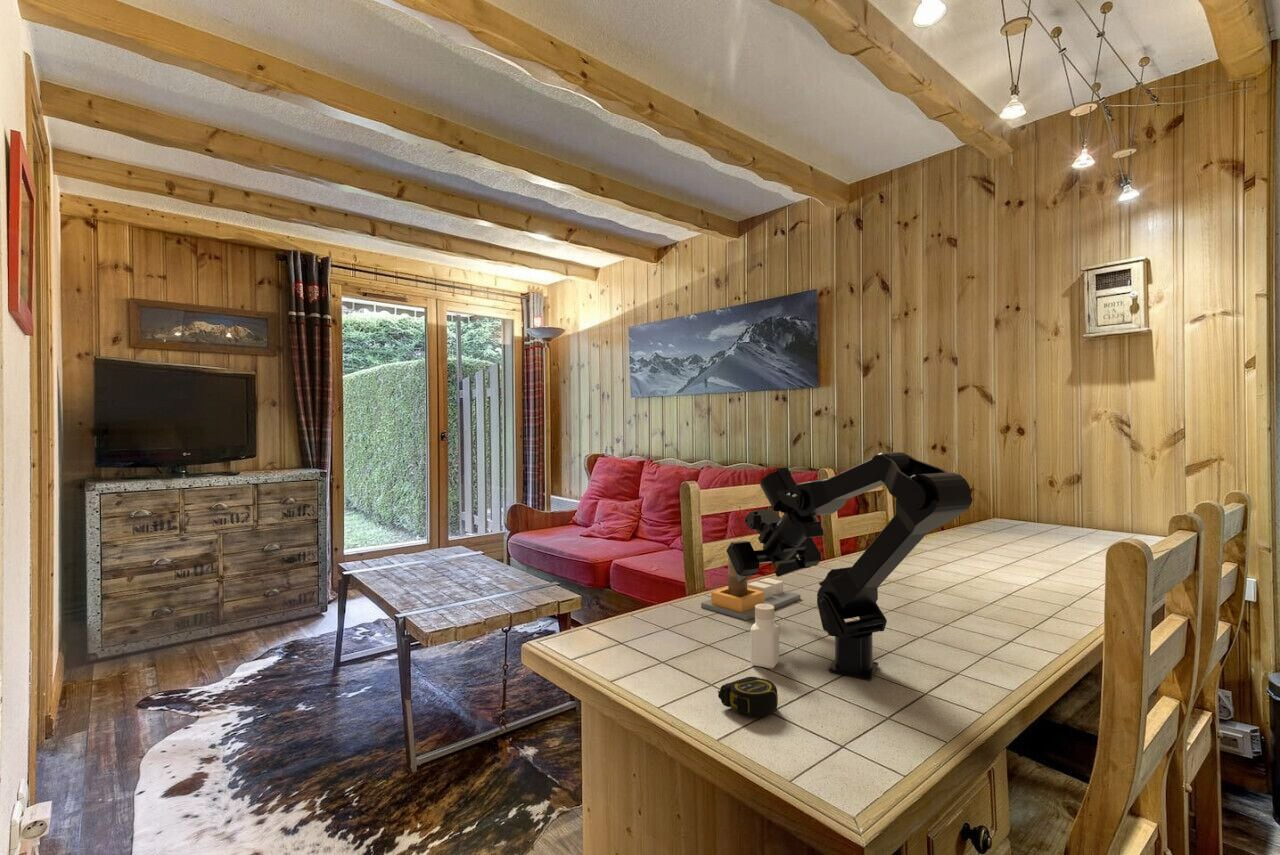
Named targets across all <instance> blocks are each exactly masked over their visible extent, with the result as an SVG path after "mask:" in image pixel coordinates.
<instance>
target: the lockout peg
mask: <svg viewBox="0 0 1280 855" xmlns="http://www.w3.org/2000/svg"><path fill="white" fill-rule="evenodd" d="M729 545H730V543H728V544H727V548H728V547H729ZM727 572H728V574H727V577H728V578H727V580H728V581H727V584H728V586H727V587H728V594H729V595H733V596H736V597H743V596H746V595H747V587H748V579H746V580H744V581H742V582H738V580H737V573H736V571H735V569H734V567H733V564H732V562H731V560H730V558H729V556H728V555H727Z"/></svg>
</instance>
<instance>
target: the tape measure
mask: <svg viewBox="0 0 1280 855" xmlns="http://www.w3.org/2000/svg"><path fill="white" fill-rule="evenodd" d="M717 693H718V695H717V696H718V698H719V700H720V702H721V703H722V706H725V707H727V708H731V709H732V710H733V712H735V713H737V714H738V715H741V716H746V717H750V718H751V717H752V718H760V717H761V718H762V717H767V716H769V715H771V714H773V713H774V712H776V710H777V708H778V704H779V702H778V700H779V699H778V698H779V695H778V688H777V686H776V684H775V683H774V682H773V681H771V680H769V679H766V678H761V677H758V676H747V677H743V678H740V679H737V680H734V681H731V682H727V683H724V684H723V685H721V686H720V688H719V690H717Z"/></svg>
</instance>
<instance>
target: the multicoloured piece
mask: <svg viewBox="0 0 1280 855" xmlns="http://www.w3.org/2000/svg"><path fill="white" fill-rule="evenodd" d="M799 600H801V593H796V592H793V591H787V590H784V581H782V580H779V579H773V578H769V577H765V578H763V579H759V580H758V582H757V581H753V582H751V583H747V595H746V596H743V597H736V596H733V595H729V594H728V586H726V587H722V588H719V589H717V590H714V591H711V592H710V599H708V600H706V601H701V602H700V608H702V609H706V610H708V611H709V610H710V611H711V612H716V613H720V614H724V615H726V616H730V617H733V618H736V619H741V620H744V621H749V620H752V619H755V605H757V604H770V605H773V606H774V610H776V609H780V608H781V607H784V606H786V605H788V604H789V605H790V604H791V603H794V602H797V601H799Z"/></svg>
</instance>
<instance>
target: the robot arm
mask: <svg viewBox="0 0 1280 855" xmlns="http://www.w3.org/2000/svg"><path fill="white" fill-rule="evenodd" d="M884 485H885V487H886V489H887V491H888V492H889V494H890V495H891V496H893V497H894V498H895V499H896V500H895V514H894V516H893V517H892V518H891V519H890V521H889V522H888V523H886V525H885V526H884V527H883V529H882V530H881V531H880V533H879V534H878V535H877V536H876V537H875V538H874V540H872V542H871V543H870V545H869V546H868V547H866V549H865V550H864V552H863V553H862V554H861V555H860V556H859V557H858V558H857V560H856V561H855V562H854V564H852V566H849V567H848V566H846V567H841V568H834V569H833V568H832V569H830V571H828V573H827V575H826V576H825V577H824V579H823V580H822V581H820V582H818V585H819V586H820V587H819V589H818V591H817V594H816V597H817V598H816V603H817V604H816V605H817V609H818V612H819V617H820V620H821V627H822V630H823V631H825V632H827V635H828V636H831V637H834V660H833V661H832V662H831V663H830V665H829V666H828V671H829V672H831V673H835V674H840V675H845V676H850V677H854V678H859V679H864V680H872V679H873V678H874V676H875V674H876V672H877V669H878V668H879V662H878V661H874V660H873V659H874V657H873V656H874V655H873V653H874V652H873V650H874V648H873V644H874V643H873V642H874V641H873V640H874V639H873V636H874V635H873V633H874V634H875V633H878V632H884V631H885V629H886V626H887V623H888V622H887V621H888V620H887V618H886V617H885V615H884V613H883V612H882V609H881V608H880V607H879V605H878V603H877V601H878V599H879V593H878V590H879V587H880V586H881V584H883V583H884V581H885V580H886V579H887V578H888V577H889V576H890V575H891V574H892V573H893V572H894V570H895V569H897V567H898V566H899V565H900V564H901V563H902V562H903V561H904V560H905V559H906V557H907V556H908V555H909V554H910V553H911V552H912V551H913V550H914V549H915V547H916V546H917V545H918V544H919V543H920V542H921V541H922V540H923V539H924V538H925V537H926V536H927V534H928V533H930V532H932V531H934V530H936V529H939V528H940V527H942V526H944V525H946V524H948V523H951V522H952V521H953V520H955V519H956V518H958V517H960V516H962V514H963V513H965V512H967V510H969V508H970V507H971V505H972V502H973V497H972V491H971V488H970V484H969V483H968V481H967V480H966V478H964V476H962V475H961V474H959V473H956V472H948V471H946V470H944V469H942V468H940V467H938V466H935V465H932V464H929V463H927V462H923V461H921V460H918V459H916V458H914V457H913V456H911V455H909V454H907V453H905V452H902V451H895V452H893V451H891V452H890V451H889V452H888V451H887V452H879V453H878V454H875V455H874V456H873V457H872V458H870V459H868V460H865V461H863V462H861V463H860V464H859V463H858V464H857V465H855V466H853V467H850V468H848V469H846V470H844V471H842V472H840V473H837V474H836V475H833V476H831V477H829V478H825V479H818V480H817V479H816V480H811V481H806V482H805V481H804V482H800V483H796V481H795V479H794V478H793V476H792V474H791V472H790V469H789V468H788V467H778V468H777V469H776V470H775V471H773V472H771V473H769V474H767V475H766V476H764V477H763V478H761V480H760V488H761V490H762V492H763V493H764V495H765V497H766V499H767V501H768V503H769V505H770V506H771V508H772V509H770V508H768V509H767V508H766V509H757V510H756V509H755V510H754V511H749V512H748V513H747V515H746V516H745V519H744V523H745V526H746V527H748V529H749V530H750V531H755V532H757V533H758V535H759V536H758V537H757V539H758V541H759V543H760V544H763V545H762V549H759V550H754V548H753V546H752V544H751V541H748V540H740V541H739V540H738V541H731V542H730V543H729V544H730V545H729V547H728V546H727V548H726V553H727V557H728V556H729V558H730V560H731V562H732V564H733V567H734V569H735V571H736V573H737V580H738V582H742V581H744V580H746V579H747V580H748V579H750V578H753V577H754V576H755V575H756V573H757V572H758V571H759V570H760V564H769V563H772V565H773V566H774V565H778V566H777V567H776V570H775V572H774V574H775V576H776V578H779V577H782V576H785V575H788V574H791V573H795V572H799V571H803V570H805V569H810V568H812V567H816V566H818V565H819V563H820V562H821V561H822V553H821V551H820V549H819V548H818V546H817V544H816V542H815V541H814V540H815V539H813V538H817V537H823V536H824V528H823V527H822V522H821V521H820V520H819V519H818V517H817V516H821V515H823V516H824V515H833V514H835V513H836V512H837V511H839V510H840V509H842V508H843V507H844V506H845V505H846V502H847V501H849V500H850V499H852V498H854V497H857V496H859V495H861V494H864V493H867V492H869V491H872V490H874V489H877V488H879V487H882V486H884ZM777 512H780V513H781V514H783V515H782V516H780V515H779V514H778V513H777ZM855 618H859V619H855ZM849 619H855V620H850V621H845V620H849Z"/></svg>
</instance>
